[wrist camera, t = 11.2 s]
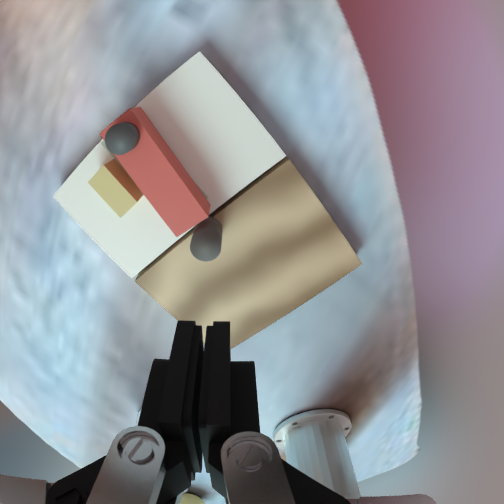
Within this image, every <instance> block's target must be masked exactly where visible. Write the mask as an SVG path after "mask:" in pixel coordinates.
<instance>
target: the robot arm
mask: <svg viewBox="0 0 504 504" xmlns="http://www.w3.org/2000/svg"><path fill="white" fill-rule="evenodd" d="M351 425H352V424H351V421H350V418H349V416H348V415H347V414H345V413H344V412H341V411H338V410H334V409H318V410H311V411H307V412H303V413H300V414H297V415H295V416H292V417H290V418H288V419H287V420H285V421H283V422H282V423H281V424H280V425H278V427H277V428H276V429H275V431H274V433H273V440H274V442H273V441H272V440H271V439H270V438H269V437H268V436H266V435H264V434H262V433H260V426H259V413H258V401H257V389H256V376H255V364H254V361H230V321H213V326H207V327H206V337H205V347H203V334H202V325H196V322H195V321H184V320H178V323H177V327H176V331H175V336H174V341H173V345H172V350H171V355H170V359H169V360H166V359H154V361H153V364H152V367H151V371H150V375H149V379H148V383H147V387H146V392H145V396H144V400H143V404H142V408H141V413H140V417H139V422H138V426H135V427H129V428H127V429H125V430H123V431H121V432H120V433H119V434H117V436H116V437H115V439H114V440H113V442H112V444H111V447H110V449H109V451H108V453H107V455H106V456H104V457H102V458H100V459H99V460H97V461H95V462H93V463H91V464H89V465H87V466H86V467H84V468H82V469H80V470H78V471H76V472H74V473H72V474H71V475H68V476H66V477H64V478H62V479H60V480H58V481H57V482H56V483H48V482H47V481H46V480H38V479H30V478H21V477H14V476H7V475H1V474H0V504H180V501H181V497H182V492H183V491H185V490H186V489H188V488H189V487H190V486H191V480H195V472H200V473H201V471H202V454H203V456H204V462H205V467H206V472H207V473H210V477H211V483H212V488H214V489H215V490H216V491H217V492H218V493H220V494H221V495H222V496H223V497H224V498H225V502H226V504H436V502H435V501H434V500H433V499H432V498H431V497H429V496H427V495H422V494H415V495H403V496H380V497H361V495H360V491H359V487H358V484H357V480H356V476H355V472H354V469H353V465H352V461H351V458H350V454H349V450H348V447H347V443H346V439H345V437H346V436H347V434H348V433H349V432H350V430H351ZM277 447H278V448H279V449H281V450H283V451H285V454H286V461H287V462H286V461H284V460H283V459H281V457H280V454H279V451H278V448H277Z"/></svg>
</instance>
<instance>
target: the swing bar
mask: <svg viewBox="0 0 504 504" xmlns="http://www.w3.org/2000/svg"><path fill="white" fill-rule="evenodd" d="M100 135H101V137H102V138H103V140H104V141H105V145H106V147H107V149H108V150H109V151H110V152H111V153H113V154H114V155H115V156H116V158H117V159H118V160H119V162H120V163H121V165H122V166H123V167H124V169H125V170H126V171H127V173H128V174H129V175H130V177H131V178H132V179H133V181H134V182H135V184H136V185H137V186H138V188H139V189H140V190H141V192H142V193H143V194H144V196H145V197H146V198H147V200H148V201H149V202H150V203H151V205H152V206H153V207H154V209H155V210H156V211H157V213H158V214H159V215H160V217H161V218H162V219H163V221H164V222H165V223H166V224H167V226H168V227H169V228H170V230H171V231H172V232H173V233H174V235H175V236H176V237H178V236H180V235H181V234H183V233H184V232H186V231H187V230H189V229H190V228H192V227H193V226H195V225H197V224H198V223H200V222H201V221H203V220H204V219H206V218H208V216H209V211H210V206H211V205H210V203H209V202H208V201H207V199H206V198H205V196H204V195H203V194H202V192H201V191H200V189H199V188H198V187H197V185H196V184H195V182H194V181H193V180H192V178H191V177H190V175H189V174H188V173H187V171H186V170H185V168H184V167H183V166H182V164H181V163H180V161H179V160H178V159H177V157H176V156H175V154H174V153H173V152H172V150H171V149H170V147H169V146H168V145H167V143H166V142H165V140H164V139H163V138H162V136H161V135H160V133H159V132H158V131H157V129H156V128H155V126H154V125H153V123H152V122H151V121H150V119H149V118H148V116H147V115H146V114H145V112H144V111H143V109H142V108H141V107H135V108H130V109H128V110H127V111H126V112H125V113H123V114H122V115H121V116H120V117H118V118H117V119H116V120H115V121H114V122H112V123H111V124H110V125H109V126H108V127H107V128H105V129H104V130H103V131H102V132H101V133H100Z"/></svg>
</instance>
